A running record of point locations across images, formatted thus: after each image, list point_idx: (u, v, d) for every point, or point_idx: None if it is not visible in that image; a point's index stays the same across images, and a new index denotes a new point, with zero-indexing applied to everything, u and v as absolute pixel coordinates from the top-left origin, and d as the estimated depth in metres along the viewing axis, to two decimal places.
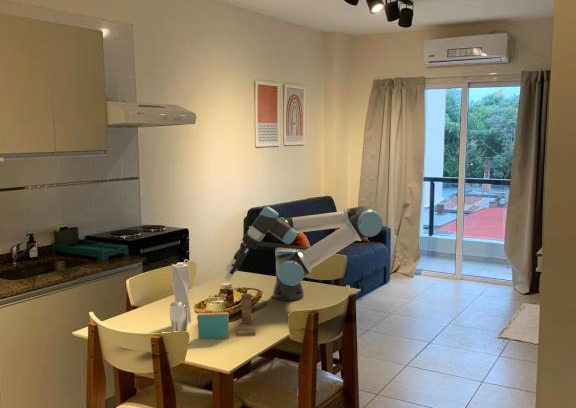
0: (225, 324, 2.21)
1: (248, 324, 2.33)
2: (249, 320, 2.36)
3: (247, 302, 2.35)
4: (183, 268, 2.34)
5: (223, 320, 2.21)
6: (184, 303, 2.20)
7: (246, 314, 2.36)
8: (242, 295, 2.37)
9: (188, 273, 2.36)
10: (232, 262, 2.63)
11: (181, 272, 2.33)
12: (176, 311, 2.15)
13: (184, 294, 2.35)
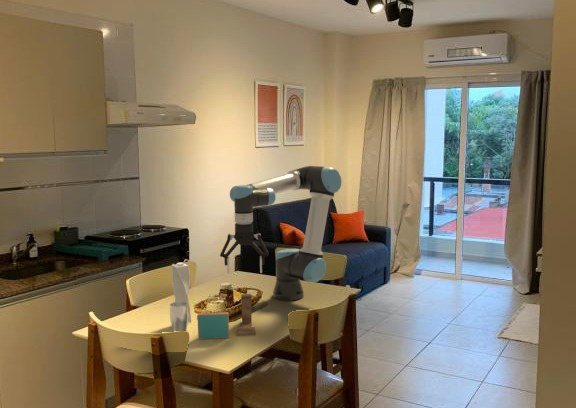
0: (225, 324, 2.21)
1: (248, 324, 2.33)
2: (249, 320, 2.36)
3: (247, 302, 2.35)
4: (183, 268, 2.33)
5: (223, 320, 2.21)
6: (184, 303, 2.20)
7: (246, 314, 2.36)
8: (242, 295, 2.37)
9: (188, 273, 2.36)
10: None
11: (181, 272, 2.33)
12: (176, 311, 2.15)
13: (184, 294, 2.35)
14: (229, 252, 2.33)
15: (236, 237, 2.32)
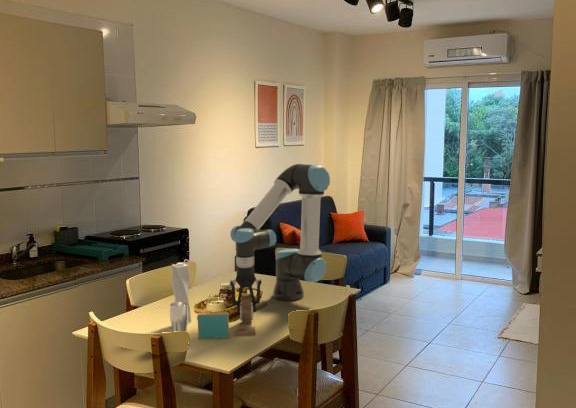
0: (225, 324, 2.21)
1: (248, 324, 2.33)
2: (249, 320, 2.36)
3: (247, 302, 2.35)
4: (183, 268, 2.33)
5: (223, 320, 2.21)
6: (184, 303, 2.20)
7: (246, 314, 2.36)
8: (242, 295, 2.37)
9: (188, 273, 2.36)
10: (241, 309, 2.37)
11: (181, 272, 2.33)
12: (176, 311, 2.15)
13: (184, 294, 2.35)
14: (239, 298, 2.36)
15: (238, 280, 2.34)
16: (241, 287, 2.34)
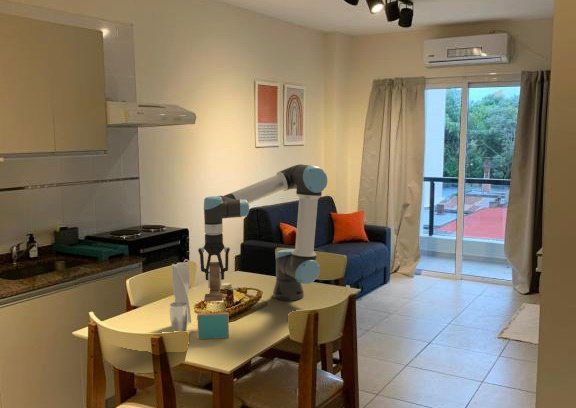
0: (225, 324, 2.21)
1: (216, 291, 2.34)
2: (217, 288, 2.37)
3: (215, 270, 2.36)
4: (183, 268, 2.34)
5: (223, 320, 2.21)
6: (184, 303, 2.20)
7: (214, 281, 2.37)
8: (210, 263, 2.38)
9: (188, 273, 2.36)
10: None
11: (181, 272, 2.33)
12: (176, 311, 2.15)
13: (184, 294, 2.35)
14: (207, 266, 2.37)
15: (206, 247, 2.36)
16: (209, 254, 2.35)
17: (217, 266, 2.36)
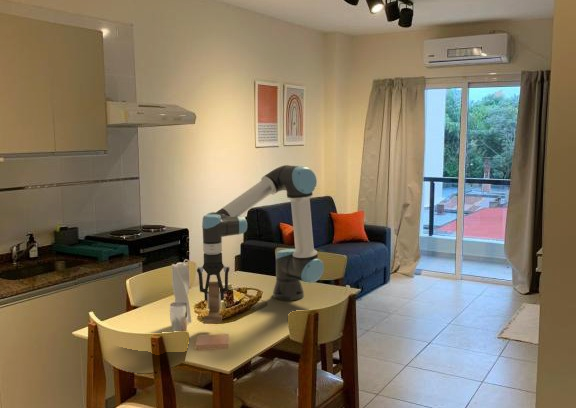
0: None
1: (215, 312, 2.27)
2: (217, 308, 2.30)
3: (215, 290, 2.29)
4: (183, 268, 2.34)
5: None
6: (184, 303, 2.20)
7: (213, 302, 2.30)
8: (210, 283, 2.31)
9: (188, 273, 2.36)
10: None
11: (181, 272, 2.33)
12: (176, 311, 2.15)
13: (184, 294, 2.35)
14: (206, 286, 2.29)
15: (205, 267, 2.28)
16: (208, 274, 2.28)
17: (216, 286, 2.29)
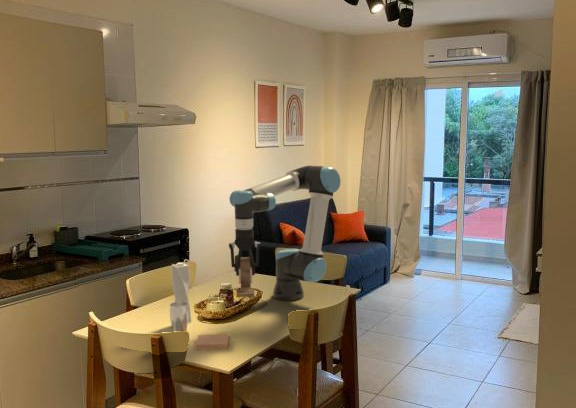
0: None
1: (247, 287, 2.31)
2: (248, 283, 2.34)
3: (246, 265, 2.33)
4: (183, 268, 2.34)
5: None
6: (184, 303, 2.20)
7: (245, 277, 2.33)
8: (241, 258, 2.34)
9: (188, 273, 2.36)
10: (240, 272, 2.35)
11: (181, 272, 2.33)
12: (176, 311, 2.15)
13: (184, 294, 2.35)
14: (238, 261, 2.33)
15: (237, 243, 2.32)
16: (240, 250, 2.32)
17: (248, 261, 2.33)
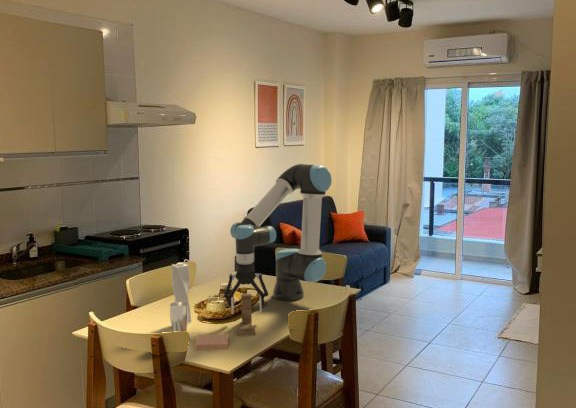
0: None
1: (248, 324, 2.33)
2: (249, 320, 2.36)
3: (247, 302, 2.35)
4: (183, 268, 2.34)
5: None
6: (184, 303, 2.20)
7: (246, 314, 2.36)
8: (242, 295, 2.37)
9: (188, 273, 2.36)
10: None
11: (181, 272, 2.33)
12: (176, 311, 2.15)
13: (184, 294, 2.35)
14: (232, 292, 2.35)
15: (238, 277, 2.34)
16: (239, 283, 2.34)
17: (249, 299, 2.35)
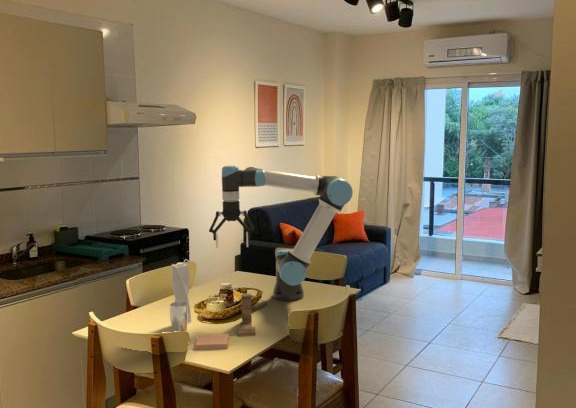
0: None
1: (248, 324, 2.33)
2: (249, 320, 2.36)
3: (247, 302, 2.35)
4: (183, 268, 2.34)
5: None
6: (184, 303, 2.20)
7: (246, 314, 2.36)
8: (242, 295, 2.37)
9: (188, 273, 2.36)
10: (217, 237, 2.52)
11: (181, 272, 2.33)
12: (176, 311, 2.15)
13: (184, 294, 2.35)
14: (217, 228, 2.51)
15: (224, 214, 2.50)
16: (224, 219, 2.50)
17: (249, 299, 2.35)
